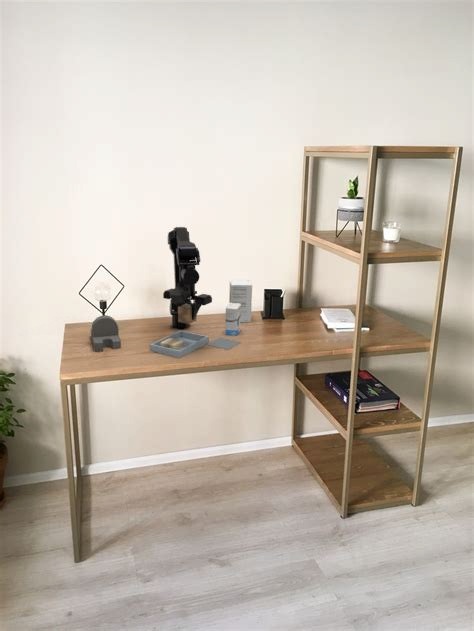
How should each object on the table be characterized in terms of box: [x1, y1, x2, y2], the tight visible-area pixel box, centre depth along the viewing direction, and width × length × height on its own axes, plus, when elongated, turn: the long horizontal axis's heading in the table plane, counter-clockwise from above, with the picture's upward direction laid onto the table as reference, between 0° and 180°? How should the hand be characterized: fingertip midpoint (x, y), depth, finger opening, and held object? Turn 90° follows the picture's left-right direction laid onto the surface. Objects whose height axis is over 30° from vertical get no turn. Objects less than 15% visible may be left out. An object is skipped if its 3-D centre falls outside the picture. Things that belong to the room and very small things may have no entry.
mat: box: [205, 336, 242, 351], centre depth 215 cm, size 10×10×1 cm
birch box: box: [160, 338, 183, 350], centre depth 206 cm, size 6×6×4 cm
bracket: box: [90, 315, 122, 353], centre depth 213 cm, size 10×18×11 cm, turn 19°
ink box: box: [225, 303, 241, 336], centre depth 227 cm, size 8×5×12 cm, turn 168°
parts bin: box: [149, 329, 210, 359], centre depth 210 cm, size 13×19×3 cm
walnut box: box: [178, 304, 198, 325], centre depth 211 cm, size 5×5×6 cm
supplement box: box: [228, 279, 253, 323], centre depth 245 cm, size 10×9×17 cm
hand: (187, 318), depth 212 cm, fingers closed on walnut box, 5 cm apart
